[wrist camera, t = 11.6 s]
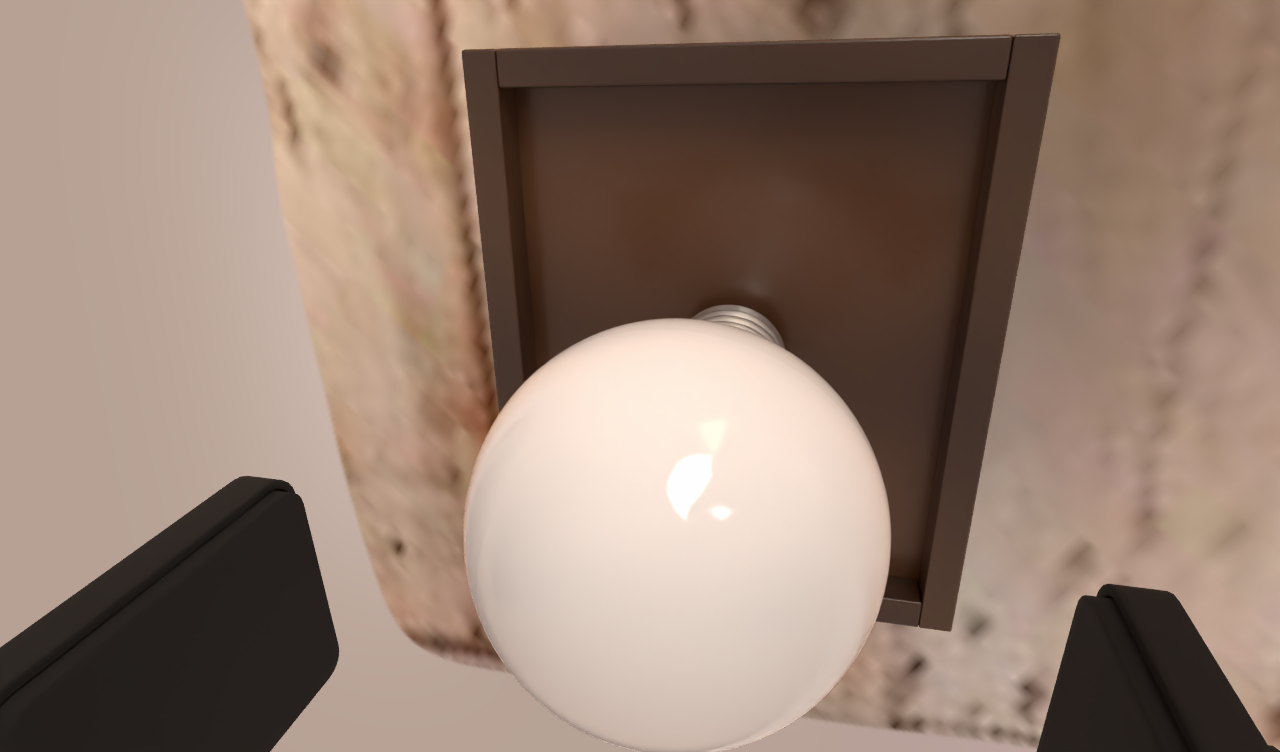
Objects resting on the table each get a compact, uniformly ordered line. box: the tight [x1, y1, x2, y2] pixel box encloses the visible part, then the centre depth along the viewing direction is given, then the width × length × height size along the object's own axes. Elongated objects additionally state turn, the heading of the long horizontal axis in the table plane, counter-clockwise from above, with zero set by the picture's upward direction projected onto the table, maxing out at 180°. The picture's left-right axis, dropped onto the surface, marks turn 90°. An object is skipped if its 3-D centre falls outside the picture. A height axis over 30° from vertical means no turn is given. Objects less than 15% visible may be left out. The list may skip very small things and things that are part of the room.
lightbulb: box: [463, 305, 891, 752], centre depth 13 cm, size 6×6×11 cm
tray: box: [462, 33, 1060, 632], centre depth 21 cm, size 14×12×7 cm
